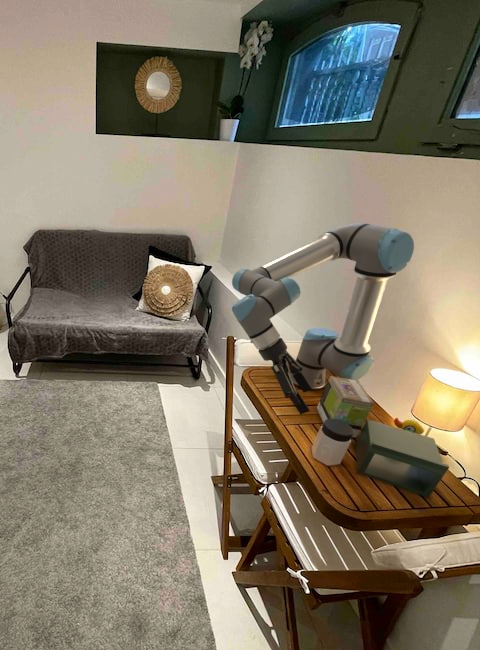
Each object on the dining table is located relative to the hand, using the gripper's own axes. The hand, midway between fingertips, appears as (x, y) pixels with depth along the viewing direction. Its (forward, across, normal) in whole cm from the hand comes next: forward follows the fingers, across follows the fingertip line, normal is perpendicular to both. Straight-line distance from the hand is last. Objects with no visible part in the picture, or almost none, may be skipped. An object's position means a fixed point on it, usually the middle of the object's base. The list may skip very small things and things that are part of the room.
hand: (306, 401), depth 114 cm
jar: (+20, 0, -5) cm, 20 cm away
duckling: (+37, -20, +12) cm, 44 cm away
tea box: (+22, -22, -3) cm, 31 cm away
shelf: (+32, -5, +8) cm, 34 cm away
